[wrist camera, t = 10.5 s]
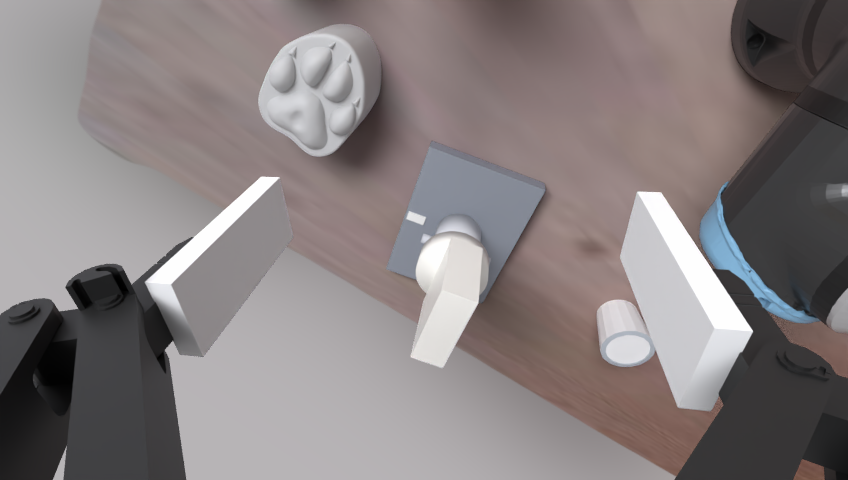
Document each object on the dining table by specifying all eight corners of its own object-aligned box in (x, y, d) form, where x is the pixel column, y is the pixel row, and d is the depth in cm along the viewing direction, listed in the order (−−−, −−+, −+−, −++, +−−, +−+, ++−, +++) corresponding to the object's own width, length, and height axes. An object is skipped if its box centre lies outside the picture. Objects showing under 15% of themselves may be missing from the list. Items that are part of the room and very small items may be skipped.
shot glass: (649, 300, 61) (664, 336, 55) (631, 334, 65) (644, 371, 59) (600, 292, 62) (610, 327, 56) (585, 326, 66) (593, 362, 60)
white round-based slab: (434, 215, 49) (417, 280, 39) (503, 240, 50) (502, 311, 40) (405, 287, 56) (384, 359, 46) (466, 309, 56) (458, 384, 46)
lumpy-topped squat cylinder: (275, 93, 53) (239, 114, 46) (326, -2, 47) (293, 5, 39) (345, 146, 56) (322, 174, 48) (403, 62, 49) (386, 80, 42)
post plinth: (544, 183, 54) (549, 214, 47) (482, 294, 65) (480, 332, 59) (431, 140, 53) (421, 166, 47) (389, 261, 64) (375, 295, 58)
